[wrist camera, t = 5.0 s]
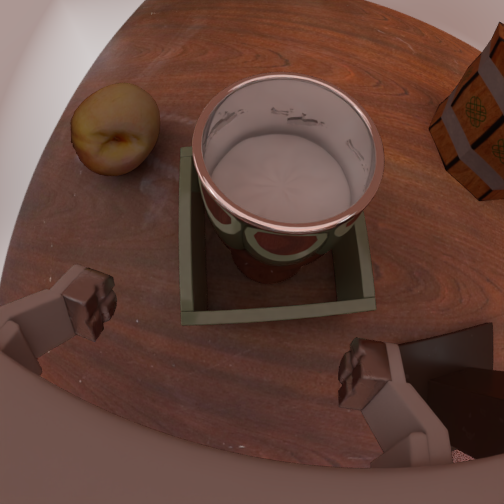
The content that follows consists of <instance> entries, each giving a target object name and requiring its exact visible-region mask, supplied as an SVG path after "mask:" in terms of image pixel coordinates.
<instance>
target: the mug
mask: <svg viewBox="0 0 504 504" xmlns="http://www.w3.org/2000/svg"><path fill="white" fill-rule="evenodd" d="M429 130H430V133H431V135H432V137H433V139H434V142H435V144H436V146H437V149H438V151H439V154H440V156H441V159H442V161H443V164H444V166H445V169H446V171H447V172H449V173H450V174H451V175H452V176H453V177H454V178H455V179H457V180H458V181H459V182H460V183H461V184H462V185H463V186H464V187H465V188H466V189H467V190H469V191H470V192H471V193H472V194H473V195H474V196H475V197H476V198H477V199H478V200H479V201H485V200H495V199H504V24H503V23H501V22H499V24H498V26H497V28H496V30H495V32H494V35H493V37H492V39H491V40H490V42H489V43H488V45H487V46H486V47H485V49H484V50H483V52H482V53H481V54H480V55H479V56H478V57H477V58H476V59H475V61H474V62H473V63H472V64H471V65H470V66H469V67H468V69H467V70H466V72H465V74H464V75H463V77H462V79H461V80H460V82H459V84H458V85H457V86H456V88H455V89H454V90H453V92H452V93H451V94H450V96H448V97H447V98H446V99H445V100H444V101H443V102H442V103H441V104H440V105H439V107H438V109H437V111H436V113H435V116H434V118H433V120H432V122H431V125H430V127H429Z"/></svg>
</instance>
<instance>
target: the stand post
mask: <svg viewBox="0 0 504 504" xmlns="http://www.w3.org/2000/svg"><path fill="white" fill-rule="evenodd" d="M398 346H399V350H400V354H401V359H402V364H403V369H404V373H405V379H406V383H410V384H411V385H412V386H413V388H414V389H415V390H416V391H417V393H418V394H419V395H420V396H421V397H422V399H423V400H424V401H425V402H426V404H427V405H428V406H429V407H430V409H431V410H432V411H433V412H434V413H435V415H436V416H437V417H438V418H439V420H440V421H441V422H442V423H443V425H444V426H445V427H446V429H447V430H448V434H449V440H450V446H451V452H452V451H454V450H456V449H458V450H460V451H462V452H463V453H465V454H467V455H469V456H471V457H473V458H475V459H480V458H485V457H490V456H494V455H499V454H503V453H504V371H496V370H493V324H492V322H491V323H484V324H480V325H477V326H474V327H470V328H466V329H463V330H459V331H455V332H451V333H447V334H443V335H439V336H435V337H430V338H426V339H422V340H417V341H412V342H408V343H403V344H398Z"/></svg>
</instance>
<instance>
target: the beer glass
mask: <svg viewBox="0 0 504 504" xmlns="http://www.w3.org/2000/svg"><path fill="white" fill-rule="evenodd" d="M192 155H193V161H194V165H195V169H196V172H197V175H198V181H199V186H200V191H201V196H202V200H203V203H204V206H205V209H206V212H207V215H208V218H209V220H210V222H211V224H212V226H213V228H214V230H215V231H216V233H217V235H218V237H219V238H220V239H221V241H222V242H223V243H224V245H225V246H226V247H227V248H228V249H229V250H230V251H231V255H232V258H233V261H234V263H235V265H236V266H237V268H238V269H239V270H240V271H241V272H242V273H243V274H244V275H245V276H246V277H248V278H250V279H251V280H254V281H256V282H259V283H264V284H275V283H280V282H283V281H285V280H287V279H289V278H291V277H292V276H294V275H295V274H296V273H297V272H298V271H299V270H300V269H301V267H302V266H305V265H307V264H310V263H312V262H314V261H315V260H317V259H319V258H320V257H322V256H323V255H324V254H326V253H327V252H328V251H330V250H331V249H332V248H333V247H334V246H336V245H337V244H338V243H339V241H340V240H341V239H342V238H343V237H344V236H345V235H346V234H347V233H348V231H349V230H350V229H351V228H352V226H353V225H354V223H355V222H356V221H357V219H358V218H359V216H360V215H361V213H362V212H363V210H364V209H365V208H366V207H367V205H368V204H369V203H370V202H371V200H372V199H373V198H374V196H375V194H376V193H377V191H378V188H379V186H380V184H381V180H382V177H383V172H384V162H385V161H384V149H383V144H382V140H381V137H380V134H379V132H378V130H377V128H376V126H375V124H374V122H373V120H372V119H371V117H370V116H369V114H368V113H367V112H366V111H365V109H364V108H363V107H362V106H361V105H360V104H359V103H358V102H357V101H356V100H355V99H354V98H353V97H351V96H350V95H349V94H347V93H346V92H345V91H343V90H342V89H340V88H338V87H337V86H335V85H333V84H331V83H329V82H327V81H324V80H322V79H319V78H316V77H313V76H309V75H305V74H300V73H292V72H270V73H263V74H258V75H253V76H250V77H247V78H244V79H242V80H239V81H237V82H235V83H233V84H231V85H229V86H228V87H226V88H225V89H223V90H222V91H221V92H219V93H218V94H217V95H216V96H215V97H214V98H213V99H212V100H211V101H210V102H209V103H208V104H207V105H206V107H205V108H204V110H203V111H202V113H201V115H200V116H199V118H198V121H197V123H196V126H195V129H194V133H193V139H192Z"/></svg>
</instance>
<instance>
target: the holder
mask: <svg viewBox="0 0 504 504" xmlns="http://www.w3.org/2000/svg"><path fill="white" fill-rule="evenodd" d="M332 254H333V263H334V272H335V282H336V292H337V301H335V302H325V303H315V304H304V305H292V306H280V307H266V308H252V309H235V310H217V311H208V296H207V274H206V246H205V206H204V203H203V200H202V196H201V191H200V186H199V181H198V175H197V172H196V169H195V165H194V161H193V155H192V146H191V147H182V148H181V149H180V175H179V285H180V310H181V325H182V326H188V325H215V324H235V323H252V322H267V321H280V320H292V319H303V318H313V317H323V316H332V315H341V314H349V313H358V312H365V311H373V310H376V299H375V289H374V280H373V271H372V263H371V256H370V249H369V242H368V235H367V229H366V223H365V217H364V212H362V213H361V215H360V216H359V218H358V219H357V221H356V222H355V223H354V225H353V226H352V228H351V229H350V230H349V231H348V233H347V234H346V235H345V236H344V237H343V238H342V239H341V240H340V241H339V243H338V244H337V245H336V246H334V247H333V248H332Z"/></svg>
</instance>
